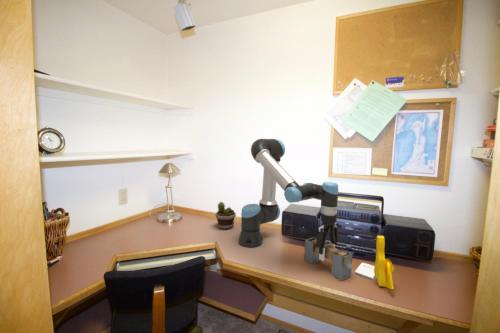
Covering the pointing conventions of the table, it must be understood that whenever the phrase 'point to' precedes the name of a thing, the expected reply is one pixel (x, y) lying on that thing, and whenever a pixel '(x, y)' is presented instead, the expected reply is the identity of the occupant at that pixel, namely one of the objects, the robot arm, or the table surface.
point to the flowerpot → (225, 217)
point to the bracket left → (310, 251)
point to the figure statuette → (383, 265)
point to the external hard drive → (365, 271)
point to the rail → (328, 251)
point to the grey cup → (342, 266)
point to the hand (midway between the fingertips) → (326, 257)
